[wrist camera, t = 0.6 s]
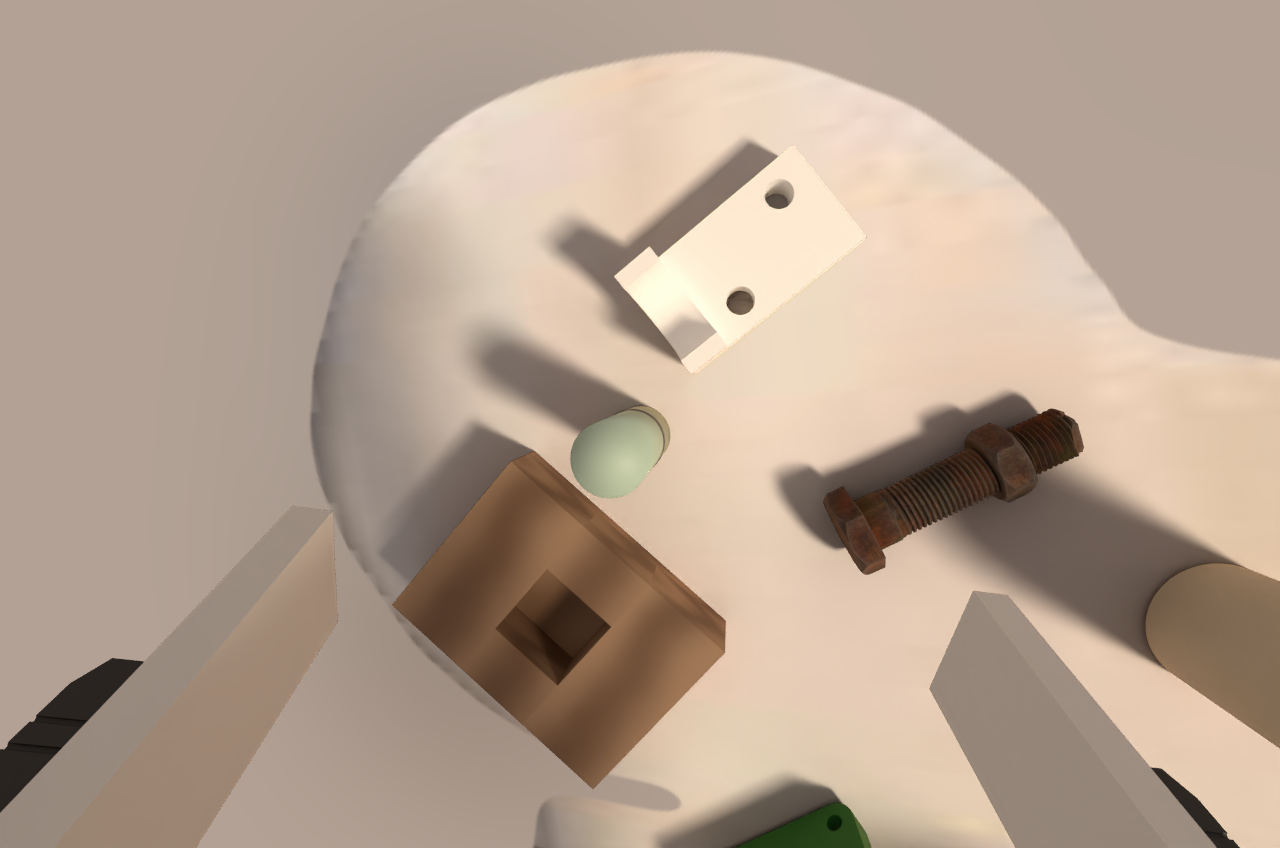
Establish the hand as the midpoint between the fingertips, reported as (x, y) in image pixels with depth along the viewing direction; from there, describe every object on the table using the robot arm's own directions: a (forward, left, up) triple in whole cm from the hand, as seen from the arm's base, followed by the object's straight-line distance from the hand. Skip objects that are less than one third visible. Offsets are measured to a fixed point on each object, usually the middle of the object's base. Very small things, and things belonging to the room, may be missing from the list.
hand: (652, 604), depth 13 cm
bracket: (+6, -10, -31) cm, 33 cm away
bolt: (-13, -8, -31) cm, 35 cm away
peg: (+4, +3, -31) cm, 31 cm away
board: (0, +15, -31) cm, 34 cm away
